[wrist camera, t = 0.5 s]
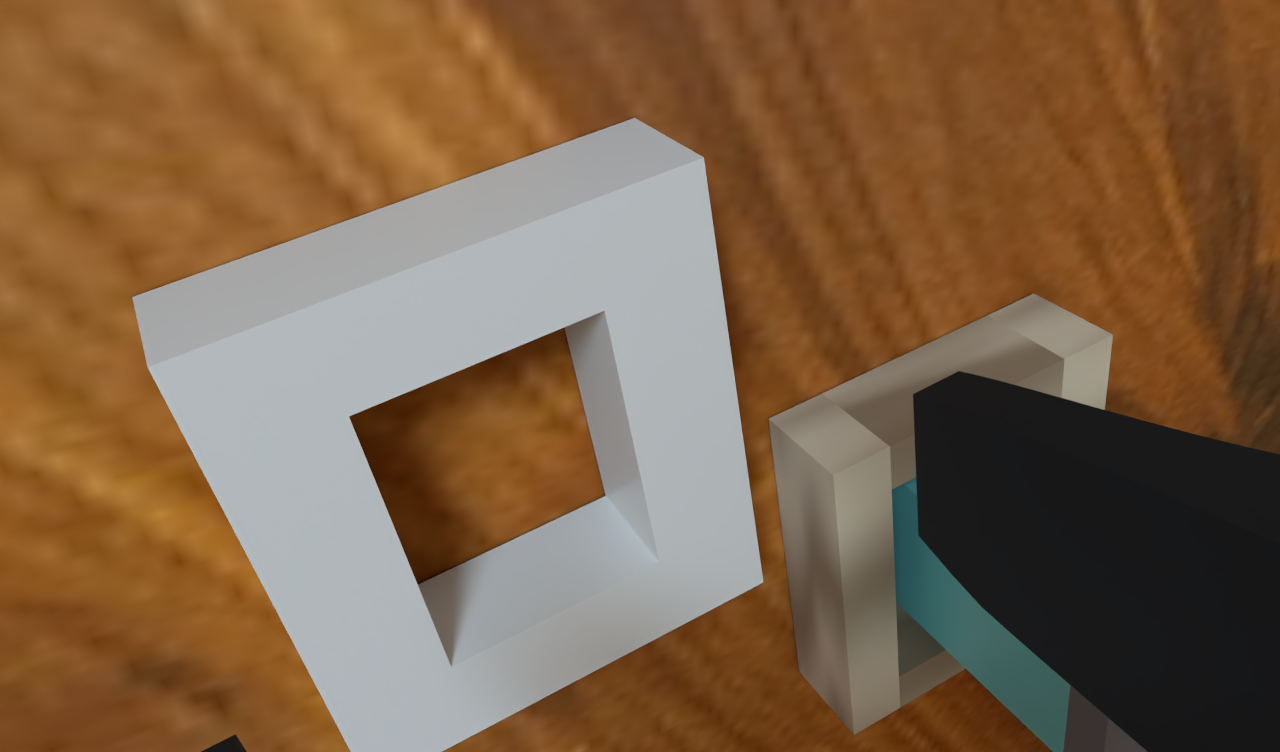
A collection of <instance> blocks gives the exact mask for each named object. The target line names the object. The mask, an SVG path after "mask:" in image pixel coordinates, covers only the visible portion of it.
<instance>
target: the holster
mask: <svg viewBox="0 0 1280 752" xmlns="http://www.w3.org/2000/svg"><path fill="white" fill-rule="evenodd" d="M1112 338H1113V335H1112V334H1110V333H1109V332H1107V331H1105V330H1103V329H1101V328H1099V327H1097V326H1095V325H1093V324H1091V323H1089V322H1087V321H1086V320H1084V319H1082V318H1080V317H1078V316H1076V315H1074V314H1072V313H1070V312H1068V311H1066V310H1064V309H1062V308H1061V307H1059V306H1057V305H1055V304H1053V303H1051V302H1049V301H1047V300H1045V299H1043V298H1041V297H1039V296H1038V295H1036V294H1032V295H1030V296H1027V297H1025V298H1023V299H1021V300H1019V301H1017V302H1015V303H1013V304H1011V305H1008V306H1006V307H1004V308H1002V309H1000V310H998V311H996V312H994V313H992V314H989V315H987V316H985V317H983V318H981V319H979V320H977V321H975V322H972V323H970V324H968V325H966V326H964V327H962V328H960V329H958V330H956V331H953V332H951V333H949V334H947V335H945V336H943V337H941V338H939V339H936V340H934V341H932V342H930V343H928V344H926V345H924V346H922V347H920V348H917V349H915V350H913V351H911V352H909V353H907V354H905V355H903V356H901V357H898V358H896V359H894V360H892V361H890V362H888V363H886V364H884V365H881V366H879V367H877V368H875V369H873V370H871V371H869V372H867V373H865V374H862V375H860V376H858V377H856V378H854V379H852V380H850V381H848V382H846V383H843V384H841V385H839V386H837V387H835V388H833V389H831V390H829V391H826V392H824V393H822V394H820V395H818V396H816V397H814V398H812V399H810V400H807V401H805V402H803V403H801V404H799V405H797V406H795V407H793V408H791V409H788V410H786V411H784V412H782V413H780V414H778V415H776V416H774V417H771V418H769V426H770V434H771V443H772V451H773V459H774V468H775V476H776V484H777V492H778V501H779V509H780V517H781V525H782V534H783V542H784V550H785V558H786V567H787V575H788V583H789V591H790V600H791V608H792V616H793V624H794V633H795V641H796V649H797V658H798V666H799V672H800V673H801V674H802V675H803V677H804V678H805V679H806V680H807V681H808V682H809V684H810V685H811V686H812V687H813V688H814V689H815V691H816V692H817V693H818V694H819V695H820V696H821V697H822V699H823V700H824V701H825V702H826V703H827V704H828V706H829V707H830V708H831V709H832V710H833V711H834V713H835V714H836V715H837V716H838V717H839V718H840V720H841V721H842V722H843V723H844V724H845V725H846V726H847V728H848V729H849V730H850V731H851V732H852V733H853V735H855V734H857V733H858V732H860V731H862V730H864V729H865V728H867V727H869V726H870V725H872V724H874V723H875V722H877V721H879V720H880V719H882V718H884V717H885V716H887V715H889V714H890V713H892V712H894V711H895V710H897V709H899V708H900V707H902V706H904V705H906V704H907V703H909V702H911V701H912V700H914V699H916V698H917V697H919V696H921V695H922V694H924V693H926V692H927V691H929V690H931V689H932V688H934V687H936V686H937V685H939V684H941V683H943V682H944V681H946V680H948V679H949V678H951V677H953V676H954V675H956V674H958V673H959V672H961V671H963V670H964V669H966V668H965V667H963V666H962V665H961V664H960V663H959V662H958V661H957V660H956V659H955V658H954V657H953V656H952V655H951V654H950V653H949V652H948V651H947V650H946V649H945V648H944V647H943V646H941V645H940V644H939V643H938V642H937V641H936V640H935V639H934V638H933V637H932V636H931V635H930V634H929V633H928V632H927V631H926V630H925V629H924V628H923V627H922V626H921V625H920V624H918V623H917V622H916V621H915V620H914V619H913V618H912V617H911V616H910V615H909V614H908V613H907V612H906V611H905V610H904V609H903V608H902V607H901V606H900V605H899V604H898V603H896V588H895V562H894V536H893V510H892V489H894V488H896V487H898V486H900V485H902V484H904V483H906V482H908V481H910V480H911V479H913V478H915V477H916V459H915V434H914V409H913V394H914V393H916V392H918V391H920V390H922V389H924V388H926V387H928V386H930V385H932V384H934V383H936V382H938V381H940V380H942V379H944V378H946V377H948V376H950V375H952V374H954V373H956V372H958V371H961V372H966V373H970V374H974V375H978V376H983V377H987V378H991V379H995V380H999V381H1002V382H1006V383H1010V384H1013V385H1017V386H1021V387H1024V388H1028V389H1032V390H1035V391H1039V392H1042V393H1046V394H1050V395H1053V396H1057V397H1060V398H1064V399H1067V400H1071V401H1074V402H1078V403H1081V404H1085V405H1089V406H1092V407H1096V408H1099V409H1103V410H1105V402H1106V393H1107V384H1108V375H1109V366H1110V357H1111V347H1112Z"/></svg>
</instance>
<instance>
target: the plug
mask: <svg viewBox="0 0 1280 752" xmlns="http://www.w3.org/2000/svg"><path fill="white" fill-rule="evenodd" d="M892 510H893V536H894V562H895V588H896V603H898V604H899V605H900V606H901V607H902V608H903V609H904V610H905V611H906V612H907V613H908V614H909V615H910V616H911V617H912V618H913V619H914V620H915V621H916V622H917V623H918V624H920V625H921V626H922V627H923V628H924V629H925V630H926V631H927V632H928V633H929V634H930V635H931V636H932V637H933V638H934V639H935V640H936V641H937V642H938V643H939V644H940V645H941V646H943V647H944V648H945V649H946V650H947V651H948V652H949V653H950V654H951V655H952V656H953V657H954V658H955V659H956V660H957V661H958V662H959V663H960V664H961V665H962V666H963V667H965V668H966V669H967V670H968V671H969V672H970V673H971V674H972V675H973V676H974V677H975V678H976V679H977V680H978V681H979V682H980V683H981V684H982V685H983V686H984V687H985V688H987V689H988V690H989V691H990V692H991V693H992V694H993V695H994V696H995V697H996V698H997V699H998V700H999V701H1000V702H1001V703H1002V704H1003V705H1004V706H1005V707H1006V708H1007V709H1008V710H1010V711H1011V712H1012V713H1013V714H1014V715H1015V716H1016V717H1017V718H1018V719H1019V720H1020V721H1021V722H1022V723H1023V724H1024V725H1025V726H1026V727H1027V728H1028V729H1029V730H1030V731H1032V732H1033V733H1034V734H1035V735H1036V736H1037V737H1038V738H1039V739H1040V740H1041V741H1042V742H1043V743H1044V744H1045V745H1046V746H1047V747H1048V748H1049V749H1050V750H1051V751H1052V752H1147V751H1146V750H1145V749H1144V748H1143V747H1141V746H1140V745H1139V744H1138V743H1137V742H1136V741H1135V740H1133V739H1132V738H1131V737H1130V736H1129V735H1128V734H1126V733H1125V732H1124V731H1123V730H1122V729H1121V728H1119V727H1118V726H1117V725H1116V724H1115V723H1114V722H1113V721H1111V720H1110V719H1109V718H1108V717H1107V716H1106V715H1104V714H1103V713H1102V712H1101V711H1100V710H1099V709H1097V708H1096V707H1095V706H1094V705H1093V704H1092V703H1091V702H1089V701H1088V700H1087V699H1086V698H1085V697H1084V696H1082V695H1081V694H1080V693H1079V692H1078V691H1077V690H1076V689H1074V688H1073V687H1072V686H1071V685H1070V684H1069V683H1067V682H1066V681H1065V680H1064V679H1063V678H1062V677H1060V676H1059V675H1058V674H1057V673H1056V672H1055V671H1054V670H1052V669H1051V668H1050V667H1049V666H1048V665H1047V664H1045V663H1044V662H1043V661H1042V660H1041V659H1040V658H1038V657H1037V656H1036V655H1035V654H1034V653H1033V652H1032V651H1031V650H1029V649H1028V648H1027V647H1026V646H1025V645H1024V644H1023V643H1021V642H1020V641H1019V640H1018V639H1017V638H1016V637H1015V636H1013V635H1012V634H1011V633H1010V632H1009V631H1008V630H1007V629H1006V628H1004V627H1003V626H1002V625H1001V624H1000V623H999V622H998V621H997V620H995V619H994V618H993V617H992V616H991V615H990V614H989V613H988V612H987V611H985V610H984V609H983V608H982V607H981V606H980V605H979V604H978V603H977V601H976V600H975V599H974V598H973V597H972V596H971V595H970V594H969V593H968V592H967V591H966V590H965V588H964V587H963V586H962V585H961V584H960V583H959V582H958V581H957V580H956V579H955V578H954V576H953V575H952V574H951V573H950V572H949V571H948V570H947V568H946V567H945V566H944V565H943V564H942V563H941V561H940V560H939V559H938V558H937V557H936V556H935V554H934V553H933V552H932V551H931V550H930V549H929V547H928V546H927V545H926V544H925V543H924V542H923V540H922V539H921V538H920V537H919V536H918V510H917V485H916V477H915V478H913V479H911V480H910V481H908V482H906V483H904V484H902V485H900V486H898V487H896V488H894V489H892Z"/></svg>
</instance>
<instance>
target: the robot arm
mask: <svg viewBox="0 0 1280 752" xmlns="http://www.w3.org/2000/svg"><path fill="white" fill-rule="evenodd" d="M913 409H914V434H915V459H916V485H917V510H918V536H919V537H920V538H921V539H922V540H923V542H924V543H925V544H926V545H927V546H928V547H929V549H930V550H931V551H932V552H933V553H934V554H935V556H936V557H937V558H938V559H939V560H940V561H941V563H942V564H943V565H944V566H945V567H946V568H947V570H948V571H949V572H950V573H951V574H952V575H953V576H954V578H955V579H956V580H957V581H958V582H959V583H960V584H961V585H962V586H963V587H964V588H965V590H966V591H967V592H968V593H969V594H970V595H971V596H972V597H973V598H974V599H975V600H976V601H977V603H978V604H979V605H980V606H981V607H982V608H983V609H984V610H985V611H987V612H988V613H989V614H990V615H991V616H992V617H993V618H994V619H995V620H997V621H998V622H999V623H1000V624H1001V625H1002V626H1003V627H1004V628H1006V629H1007V630H1008V631H1009V632H1010V633H1011V634H1012V635H1013V636H1015V637H1016V638H1017V639H1018V640H1019V641H1020V642H1021V643H1023V644H1024V645H1025V646H1026V647H1027V648H1028V649H1029V650H1031V651H1032V652H1033V653H1034V654H1035V655H1036V656H1037V657H1038V658H1040V659H1041V660H1042V661H1043V662H1044V663H1045V664H1047V665H1048V666H1049V667H1050V668H1051V669H1052V670H1054V671H1055V672H1056V673H1057V674H1058V675H1059V676H1060V677H1062V678H1063V679H1064V680H1065V681H1066V682H1067V683H1069V684H1070V685H1071V686H1072V687H1073V688H1074V689H1076V690H1077V691H1078V692H1079V693H1080V694H1081V695H1082V696H1084V697H1085V698H1086V699H1087V700H1088V701H1089V702H1091V703H1092V704H1093V705H1094V706H1095V707H1096V708H1097V709H1099V710H1100V711H1101V712H1102V713H1103V714H1104V715H1106V716H1107V717H1108V718H1109V719H1110V720H1111V721H1113V722H1114V723H1115V724H1116V725H1117V726H1118V727H1119V728H1121V729H1122V730H1123V731H1124V732H1125V733H1126V734H1128V735H1129V736H1130V737H1131V738H1132V739H1133V740H1135V741H1136V742H1137V743H1138V744H1139V745H1140V746H1141V747H1143V748H1144V749H1145V750H1146V751H1147V752H1280V455H1279V454H1275V453H1270V452H1266V451H1261V450H1257V449H1252V448H1248V447H1244V446H1239V445H1235V444H1231V443H1227V442H1223V441H1219V440H1215V439H1211V438H1207V437H1203V436H1199V435H1195V434H1191V433H1188V432H1184V431H1180V430H1176V429H1172V428H1168V427H1165V426H1161V425H1157V424H1154V423H1150V422H1146V421H1142V420H1139V419H1135V418H1132V417H1128V416H1124V415H1121V414H1117V413H1113V412H1110V411H1106V410H1103V409H1099V408H1096V407H1092V406H1089V405H1085V404H1081V403H1078V402H1074V401H1071V400H1067V399H1064V398H1060V397H1057V396H1053V395H1050V394H1046V393H1042V392H1039V391H1035V390H1032V389H1028V388H1024V387H1021V386H1017V385H1013V384H1010V383H1006V382H1002V381H999V380H995V379H991V378H987V377H983V376H978V375H974V374H970V373H966V372H961V371H958V372H956V373H954V374H952V375H950V376H948V377H946V378H944V379H942V380H940V381H938V382H936V383H934V384H932V385H930V386H928V387H926V388H924V389H922V390H920V391H918V392H916V393H914V394H913ZM202 752H246V750H245V749H244V747H243V745H242V744H241V742H240V741H239V739H238V738H237V736H236V735H233V736H231V737H229V738H227V739H225V740H223V741H221V742H220V743H218V744H216V745H214V746H212V747H210V748H208V749H206V750H204V751H202Z"/></svg>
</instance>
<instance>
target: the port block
mask: <svg viewBox="0 0 1280 752" xmlns="http://www.w3.org/2000/svg"><path fill="white" fill-rule="evenodd" d="M132 298H133V302H134V307H135V312H136V316H137V321H138V325H139V330H140V335H141V339H142V344H143V348H144V353H145V358H146V362H147V367H148V369H149V371H150V373H151V375H152V377H153V379H154V380H155V382H156V384H157V386H158V388H159V390H160V392H161V394H162V396H163V397H164V399H165V401H166V403H167V405H168V407H169V409H170V411H171V413H172V414H173V416H174V418H175V420H176V422H177V424H178V426H179V428H180V430H181V432H182V433H183V435H184V437H185V439H186V441H187V443H188V445H189V447H190V449H191V450H192V452H193V454H194V456H195V458H196V460H197V462H198V464H199V466H200V467H201V469H202V471H203V473H204V475H205V477H206V479H207V481H208V483H209V484H210V486H211V488H212V490H213V492H214V494H215V496H216V498H217V500H218V501H219V503H220V505H221V507H222V509H223V511H224V513H225V515H226V517H227V519H228V520H229V522H230V524H231V526H232V528H233V530H234V532H235V534H236V536H237V537H238V539H239V541H240V543H241V545H242V547H243V549H244V551H245V553H246V554H247V556H248V558H249V560H250V562H251V564H252V566H253V568H254V570H255V571H256V573H257V575H258V577H259V579H260V581H261V583H262V585H263V587H264V588H265V590H266V592H267V594H268V596H269V598H270V600H271V602H272V604H273V606H274V607H275V609H276V611H277V613H278V615H279V617H280V619H281V621H282V623H283V624H284V626H285V628H286V630H287V632H288V634H289V636H290V638H291V640H292V641H293V643H294V645H295V647H296V649H297V651H298V653H299V655H300V657H301V658H302V660H303V662H304V664H305V666H306V668H307V670H308V672H309V674H310V676H311V677H312V679H313V681H314V683H315V685H316V687H317V689H318V691H319V693H320V694H321V696H322V698H323V700H324V702H325V704H326V706H327V708H328V710H329V711H330V713H331V715H332V717H333V719H334V721H335V723H336V725H337V727H338V728H339V730H340V732H341V734H342V736H343V738H344V740H345V742H346V744H347V745H348V747H349V749H350V751H351V752H442V751H444V750H446V749H448V748H449V747H451V746H453V745H455V744H457V743H459V742H461V741H463V740H465V739H467V738H468V737H470V736H472V735H474V734H476V733H478V732H480V731H482V730H484V729H486V728H487V727H489V726H491V725H493V724H495V723H497V722H499V721H501V720H503V719H505V718H506V717H508V716H510V715H512V714H514V713H516V712H518V711H520V710H522V709H524V708H525V707H527V706H529V705H531V704H533V703H535V702H537V701H539V700H541V699H543V698H544V697H546V696H548V695H550V694H552V693H554V692H556V691H558V690H560V689H562V688H563V687H565V686H567V685H569V684H571V683H573V682H575V681H577V680H579V679H581V678H582V677H584V676H586V675H588V674H590V673H592V672H594V671H596V670H598V669H600V668H601V667H603V666H605V665H607V664H609V663H611V662H613V661H615V660H617V659H619V658H620V657H622V656H624V655H626V654H628V653H630V652H632V651H634V650H636V649H638V648H640V647H641V646H643V645H645V644H647V643H649V642H651V641H653V640H655V639H657V638H659V637H660V636H662V635H664V634H666V633H668V632H670V631H672V630H674V629H676V628H678V627H679V626H681V625H683V624H685V623H687V622H689V621H691V620H693V619H695V618H697V617H698V616H700V615H702V614H704V613H706V612H708V611H710V610H712V609H714V608H716V607H717V606H719V605H721V604H723V603H725V602H727V601H729V600H731V599H733V598H735V597H736V596H738V595H740V594H742V593H744V592H746V591H748V590H750V589H752V588H754V587H755V586H757V585H759V584H761V583H763V576H762V569H761V562H760V555H759V548H758V541H757V534H756V526H755V519H754V512H753V505H752V498H751V491H750V484H749V477H748V469H747V462H746V455H745V448H744V441H743V434H742V427H741V420H740V412H739V405H738V398H737V391H736V384H735V377H734V370H733V363H732V356H731V348H730V341H729V334H728V327H727V320H726V313H725V306H724V299H723V291H722V284H721V277H720V270H719V263H718V256H717V249H716V242H715V234H714V227H713V220H712V213H711V206H710V199H709V192H708V185H707V177H706V170H705V163H704V157H702V156H700V155H698V154H697V153H695V152H693V151H691V150H690V149H688V148H686V147H684V146H683V145H681V144H679V143H678V142H676V141H674V140H672V139H671V138H669V137H667V136H665V135H664V134H662V133H660V132H658V131H657V130H655V129H653V128H651V127H650V126H648V125H646V124H644V123H643V122H641V121H639V120H637V119H636V118H633V119H630V120H628V121H625V122H622V123H619V124H616V125H614V126H611V127H608V128H605V129H602V130H600V131H597V132H594V133H591V134H588V135H586V136H583V137H580V138H577V139H574V140H572V141H569V142H566V143H563V144H560V145H558V146H555V147H552V148H549V149H546V150H544V151H541V152H538V153H535V154H532V155H530V156H527V157H524V158H521V159H518V160H516V161H513V162H510V163H507V164H504V165H501V166H499V167H496V168H493V169H490V170H487V171H485V172H482V173H479V174H476V175H473V176H471V177H468V178H465V179H462V180H459V181H457V182H454V183H451V184H448V185H445V186H443V187H440V188H437V189H434V190H431V191H429V192H426V193H423V194H420V195H417V196H415V197H412V198H409V199H406V200H403V201H401V202H398V203H395V204H392V205H389V206H386V207H384V208H381V209H378V210H375V211H372V212H370V213H367V214H364V215H361V216H358V217H356V218H353V219H350V220H347V221H344V222H342V223H339V224H336V225H333V226H330V227H328V228H325V229H322V230H319V231H316V232H314V233H311V234H308V235H305V236H302V237H300V238H297V239H294V240H291V241H288V242H286V243H283V244H280V245H277V246H274V247H272V248H269V249H266V250H263V251H260V252H257V253H255V254H252V255H249V256H246V257H243V258H241V259H238V260H235V261H232V262H229V263H227V264H224V265H221V266H218V267H215V268H213V269H210V270H207V271H204V272H201V273H199V274H196V275H193V276H190V277H187V278H185V279H182V280H179V281H176V282H173V283H171V284H168V285H165V286H162V287H159V288H157V289H154V290H151V291H148V292H145V293H143V294H140V295H137V296H134V297H132ZM561 328H565V332H566V336H567V340H568V344H569V349H570V353H571V357H572V361H573V365H574V369H575V373H576V377H577V381H578V385H579V389H580V393H581V397H582V401H583V405H584V410H585V414H586V418H587V422H588V426H589V430H590V434H591V438H592V442H593V446H594V450H595V454H596V458H597V462H598V466H599V471H600V475H601V479H602V483H603V487H604V491H605V495H606V496H604V497H602V498H600V499H598V500H596V501H594V502H592V503H590V504H587V505H585V506H583V507H581V508H579V509H577V510H575V511H573V512H570V513H568V514H566V515H564V516H562V517H560V518H558V519H556V520H554V521H551V522H549V523H547V524H545V525H543V526H541V527H539V528H537V529H535V530H532V531H530V532H528V533H526V534H524V535H522V536H520V537H518V538H515V539H513V540H511V541H509V542H507V543H505V544H503V545H501V546H499V547H496V548H494V549H492V550H490V551H488V552H486V553H484V554H482V555H479V556H477V557H475V558H473V559H471V560H469V561H467V562H465V563H463V564H460V565H458V566H456V567H454V568H452V569H450V570H448V571H446V572H444V573H441V574H439V575H437V576H435V577H433V578H431V579H429V580H427V581H424V582H422V583H420V584H417V582H416V579H415V577H414V574H413V572H412V570H411V567H410V565H409V562H408V560H407V557H406V555H405V552H404V550H403V548H402V545H401V543H400V540H399V538H398V535H397V533H396V530H395V528H394V525H393V523H392V521H391V518H390V516H389V513H388V511H387V508H386V506H385V503H384V501H383V499H382V496H381V494H380V491H379V489H378V486H377V484H376V481H375V479H374V477H373V474H372V472H371V469H370V467H369V464H368V462H367V459H366V457H365V454H364V452H363V450H362V447H361V445H360V442H359V440H358V437H357V435H356V432H355V430H354V428H353V425H352V423H351V420H350V418H349V416H351V415H354V414H356V413H359V412H361V411H363V410H366V409H368V408H371V407H373V406H375V405H378V404H380V403H383V402H385V401H388V400H390V399H392V398H395V397H397V396H400V395H402V394H404V393H407V392H409V391H412V390H414V389H416V388H419V387H421V386H424V385H426V384H429V383H431V382H433V381H436V380H438V379H441V378H443V377H445V376H448V375H450V374H453V373H455V372H458V371H460V370H462V369H465V368H467V367H470V366H472V365H474V364H477V363H479V362H482V361H484V360H487V359H489V358H491V357H494V356H496V355H499V354H501V353H503V352H506V351H508V350H511V349H513V348H516V347H518V346H520V345H523V344H525V343H528V342H530V341H532V340H535V339H537V338H540V337H542V336H545V335H547V334H549V333H552V332H554V331H557V330H559V329H561Z"/></svg>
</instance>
